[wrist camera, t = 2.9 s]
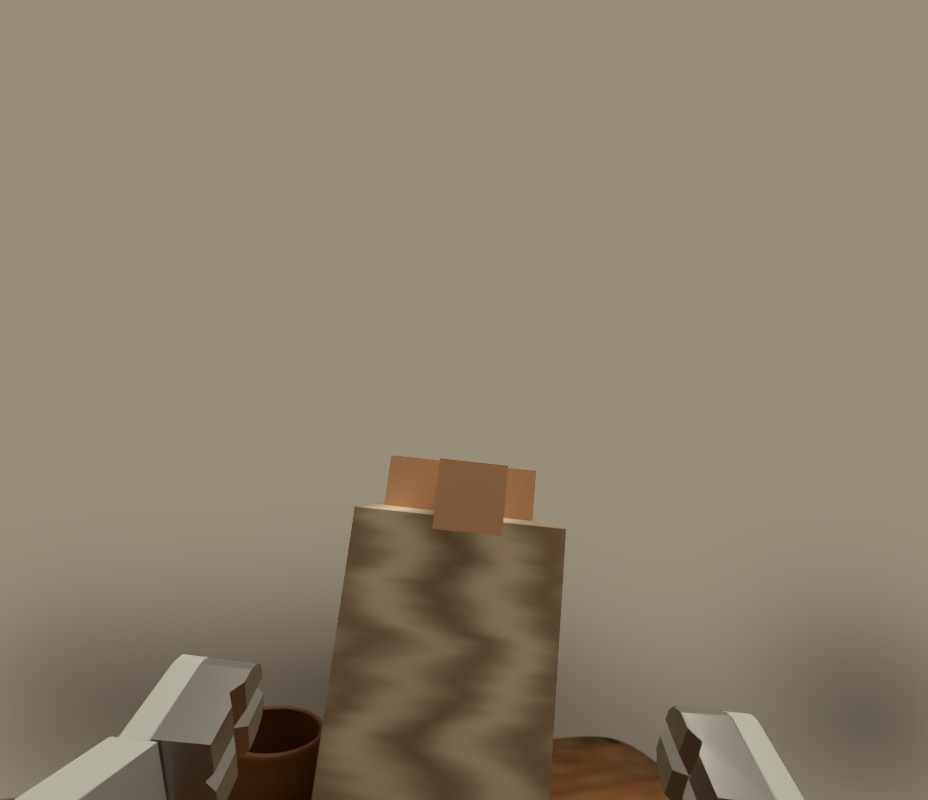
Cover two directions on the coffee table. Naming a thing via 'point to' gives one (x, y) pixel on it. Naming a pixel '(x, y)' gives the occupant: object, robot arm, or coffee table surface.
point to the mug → (280, 757)
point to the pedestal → (443, 662)
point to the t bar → (462, 492)
